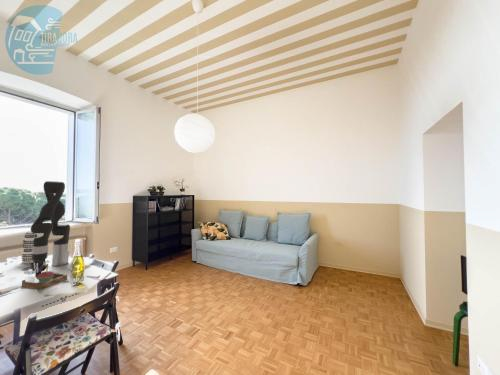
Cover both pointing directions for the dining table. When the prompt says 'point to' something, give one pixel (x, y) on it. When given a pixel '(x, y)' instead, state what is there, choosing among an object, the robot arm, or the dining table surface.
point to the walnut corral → (40, 286)
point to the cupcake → (45, 276)
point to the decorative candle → (28, 247)
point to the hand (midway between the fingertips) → (38, 277)
